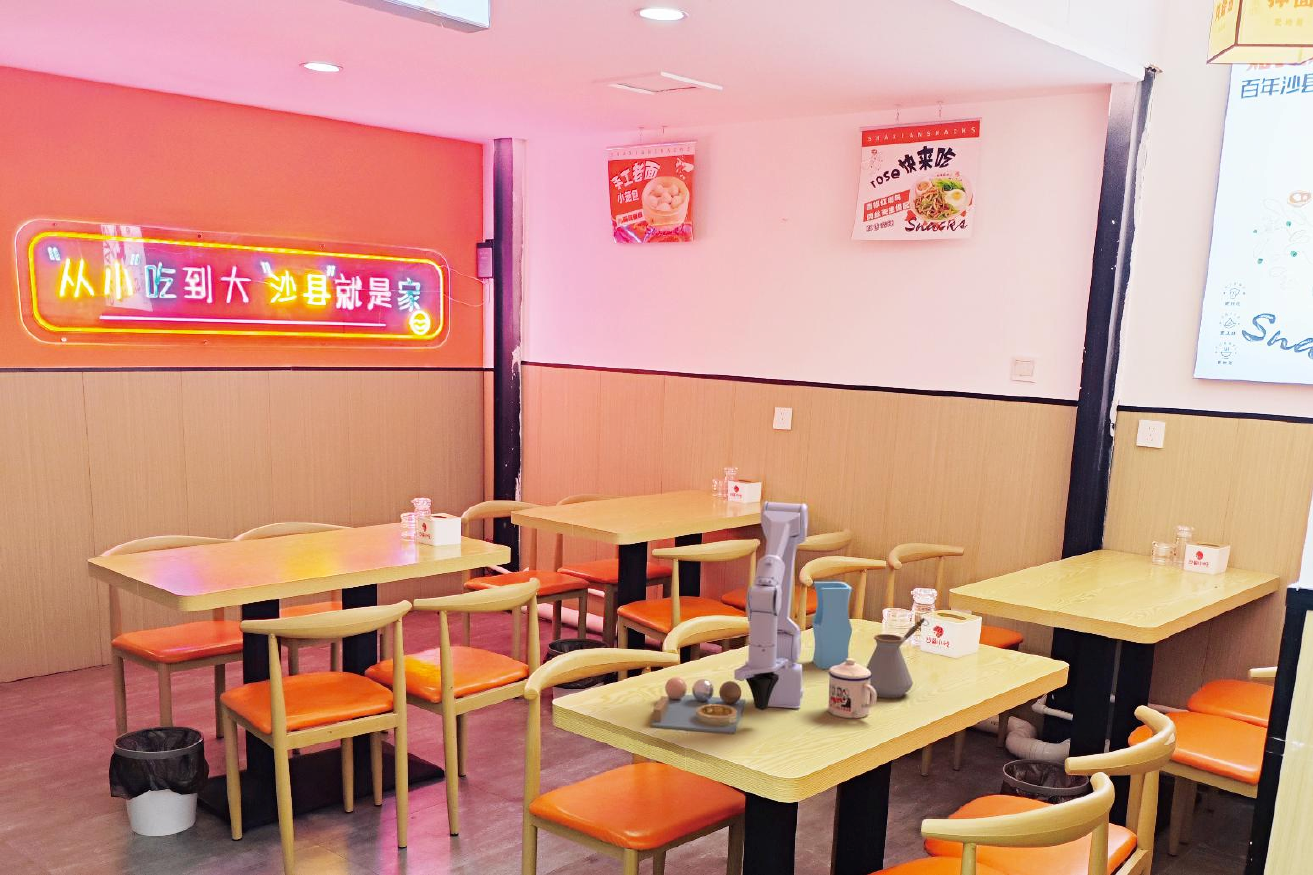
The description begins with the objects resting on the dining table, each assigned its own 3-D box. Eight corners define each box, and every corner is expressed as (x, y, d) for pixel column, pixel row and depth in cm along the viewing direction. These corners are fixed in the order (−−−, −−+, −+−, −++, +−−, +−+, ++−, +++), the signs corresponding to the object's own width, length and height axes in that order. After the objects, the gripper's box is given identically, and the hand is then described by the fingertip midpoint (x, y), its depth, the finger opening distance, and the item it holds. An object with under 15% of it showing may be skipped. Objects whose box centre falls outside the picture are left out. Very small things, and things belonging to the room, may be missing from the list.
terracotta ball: (688, 696, 238) (688, 675, 238) (684, 703, 233) (685, 681, 233) (666, 694, 239) (667, 673, 238) (663, 701, 234) (663, 679, 234)
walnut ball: (742, 700, 236) (742, 679, 235) (739, 707, 231) (740, 685, 231) (720, 698, 237) (721, 677, 236) (717, 705, 232) (718, 684, 231)
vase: (811, 659, 271) (813, 581, 269) (841, 659, 271) (844, 581, 270) (819, 669, 263) (821, 588, 261) (850, 668, 264) (853, 588, 262)
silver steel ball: (715, 698, 237) (715, 677, 236) (712, 705, 232) (712, 683, 232) (693, 696, 238) (694, 675, 237) (690, 703, 233) (690, 681, 233)
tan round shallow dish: (738, 714, 227) (739, 705, 226) (734, 727, 218) (734, 718, 218) (699, 711, 228) (699, 702, 228) (693, 724, 220) (693, 715, 220)
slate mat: (745, 701, 237) (745, 688, 236) (734, 733, 216) (734, 719, 216) (669, 695, 240) (669, 682, 240) (651, 726, 219) (651, 712, 219)
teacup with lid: (818, 710, 232) (820, 657, 231) (848, 702, 237) (849, 651, 236) (859, 726, 222) (861, 670, 221) (889, 718, 228) (891, 664, 227)
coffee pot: (894, 704, 237) (896, 637, 236) (850, 692, 245) (853, 627, 244) (944, 684, 252) (947, 622, 251) (902, 674, 260) (904, 613, 259)
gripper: (771, 634, 228) (769, 696, 229) (724, 645, 218) (722, 710, 219) (797, 640, 223) (795, 705, 224) (749, 652, 213) (748, 719, 214)
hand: (760, 708), depth 221 cm, fingers closed
